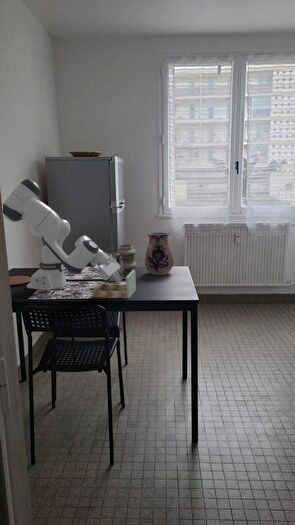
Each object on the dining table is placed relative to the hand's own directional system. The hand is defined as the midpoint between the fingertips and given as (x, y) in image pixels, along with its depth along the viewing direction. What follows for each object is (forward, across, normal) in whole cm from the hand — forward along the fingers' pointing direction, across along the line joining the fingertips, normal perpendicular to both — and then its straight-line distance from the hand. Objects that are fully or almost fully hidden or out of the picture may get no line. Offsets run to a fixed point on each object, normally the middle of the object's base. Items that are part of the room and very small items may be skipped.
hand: (120, 280), depth 209 cm
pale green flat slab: (+9, +1, +1) cm, 9 cm away
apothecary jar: (0, +44, +12) cm, 45 cm away
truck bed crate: (+3, +1, +9) cm, 9 cm away
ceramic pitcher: (+14, +47, -2) cm, 49 cm away
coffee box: (-2, +27, +14) cm, 30 cm away
